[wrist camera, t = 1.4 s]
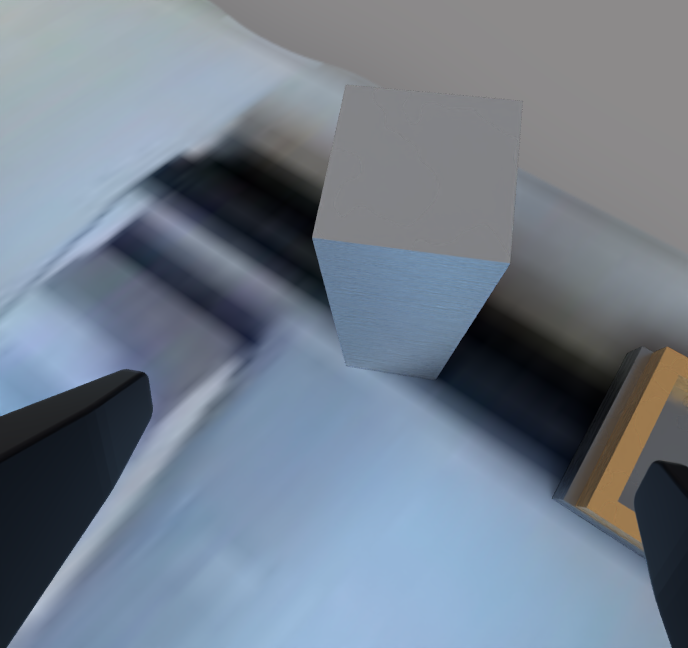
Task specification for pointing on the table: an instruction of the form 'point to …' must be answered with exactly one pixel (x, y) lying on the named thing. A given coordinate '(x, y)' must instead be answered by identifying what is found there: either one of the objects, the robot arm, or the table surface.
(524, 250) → the table surface
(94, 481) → the robot arm
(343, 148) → the gray block
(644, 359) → the rail
